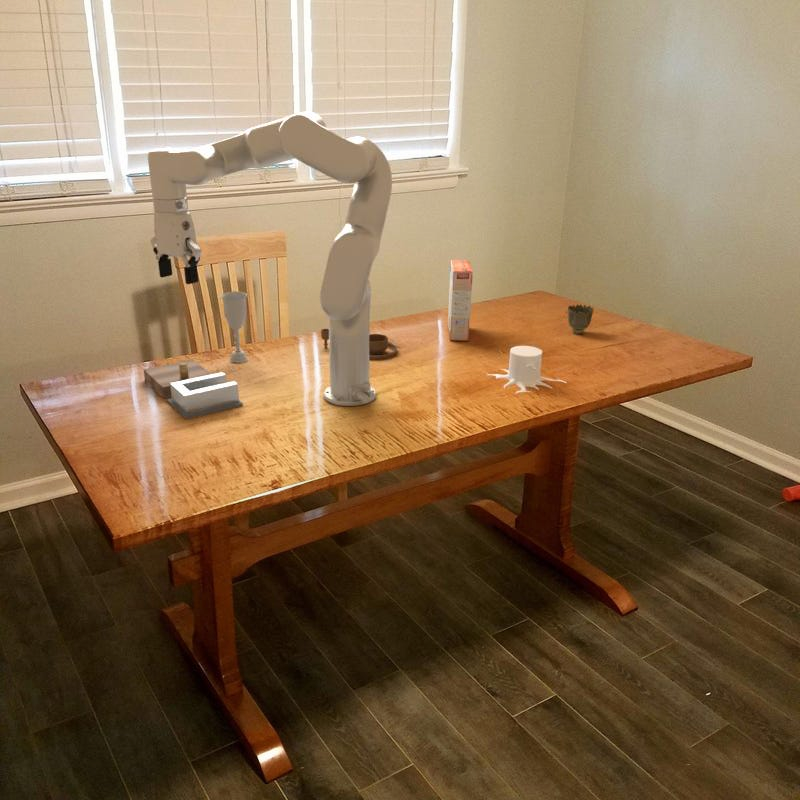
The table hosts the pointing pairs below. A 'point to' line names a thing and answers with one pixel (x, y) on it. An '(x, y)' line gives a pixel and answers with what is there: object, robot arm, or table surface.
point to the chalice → (235, 319)
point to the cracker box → (459, 300)
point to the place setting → (371, 345)
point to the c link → (204, 392)
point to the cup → (579, 317)
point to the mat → (203, 412)
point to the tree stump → (524, 368)
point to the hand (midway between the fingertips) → (179, 279)
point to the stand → (172, 375)
